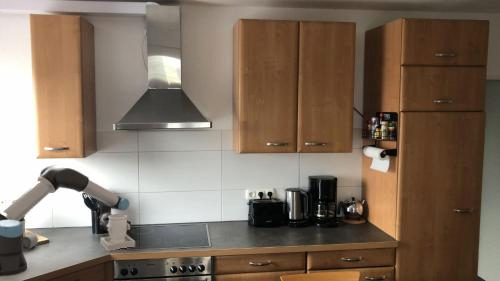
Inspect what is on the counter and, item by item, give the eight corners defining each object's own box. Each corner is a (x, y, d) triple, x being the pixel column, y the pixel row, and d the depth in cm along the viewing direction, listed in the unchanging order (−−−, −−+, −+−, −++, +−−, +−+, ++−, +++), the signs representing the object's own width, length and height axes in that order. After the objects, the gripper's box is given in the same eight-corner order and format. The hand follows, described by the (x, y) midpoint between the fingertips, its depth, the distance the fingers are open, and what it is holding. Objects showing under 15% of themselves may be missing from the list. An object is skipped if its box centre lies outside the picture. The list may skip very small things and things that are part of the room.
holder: (107, 251, 241) (107, 245, 240) (100, 243, 254) (100, 237, 254) (135, 247, 249) (135, 241, 249) (126, 239, 263) (126, 234, 262)
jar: (130, 240, 254) (131, 215, 253) (118, 245, 245) (118, 218, 244) (116, 237, 258) (116, 212, 257) (104, 242, 249) (104, 216, 248)
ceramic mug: (39, 246, 247) (38, 232, 246) (31, 250, 239) (31, 236, 238) (20, 245, 247) (20, 232, 247) (12, 250, 239) (12, 236, 238)
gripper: (127, 223, 272) (139, 232, 254) (89, 228, 260) (99, 237, 241) (127, 212, 272) (139, 219, 253) (89, 215, 260) (99, 224, 241)
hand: (119, 228), depth 247 cm, fingers closed on jar, 10 cm apart
